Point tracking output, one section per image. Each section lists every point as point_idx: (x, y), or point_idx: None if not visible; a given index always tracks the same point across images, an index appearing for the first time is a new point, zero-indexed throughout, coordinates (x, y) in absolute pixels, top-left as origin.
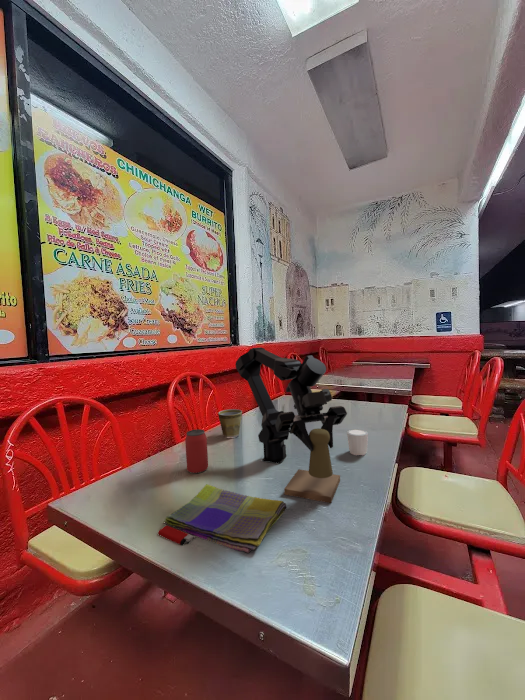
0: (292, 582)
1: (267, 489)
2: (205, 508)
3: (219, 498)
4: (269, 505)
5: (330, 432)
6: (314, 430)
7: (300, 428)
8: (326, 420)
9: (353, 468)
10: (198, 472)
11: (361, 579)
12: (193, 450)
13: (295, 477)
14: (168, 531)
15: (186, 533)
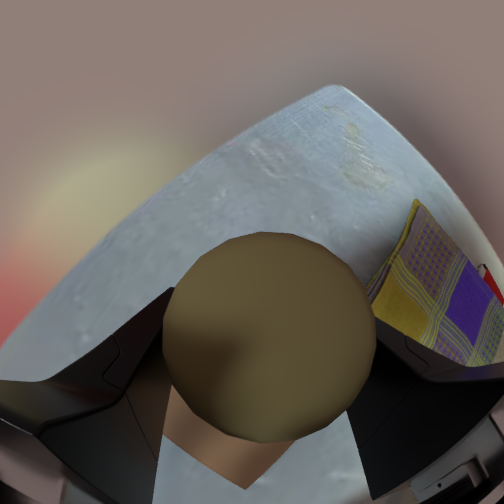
0: (370, 144)
1: None
2: (475, 343)
3: None
4: (394, 308)
5: (131, 338)
6: (346, 343)
7: (469, 366)
8: (88, 455)
9: None
10: None
11: (286, 110)
12: None
13: (281, 442)
14: (498, 292)
15: (485, 280)
